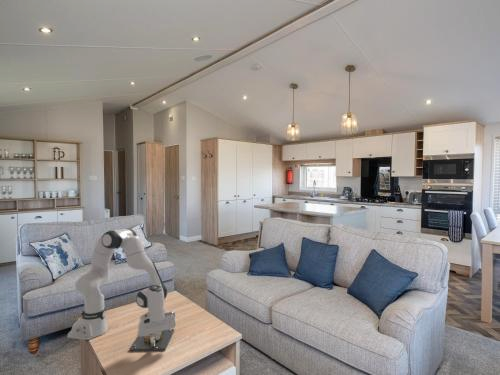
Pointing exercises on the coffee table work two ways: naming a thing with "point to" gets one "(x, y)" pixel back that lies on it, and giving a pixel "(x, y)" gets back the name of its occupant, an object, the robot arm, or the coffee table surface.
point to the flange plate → (159, 345)
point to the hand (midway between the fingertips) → (157, 339)
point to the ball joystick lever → (151, 339)
